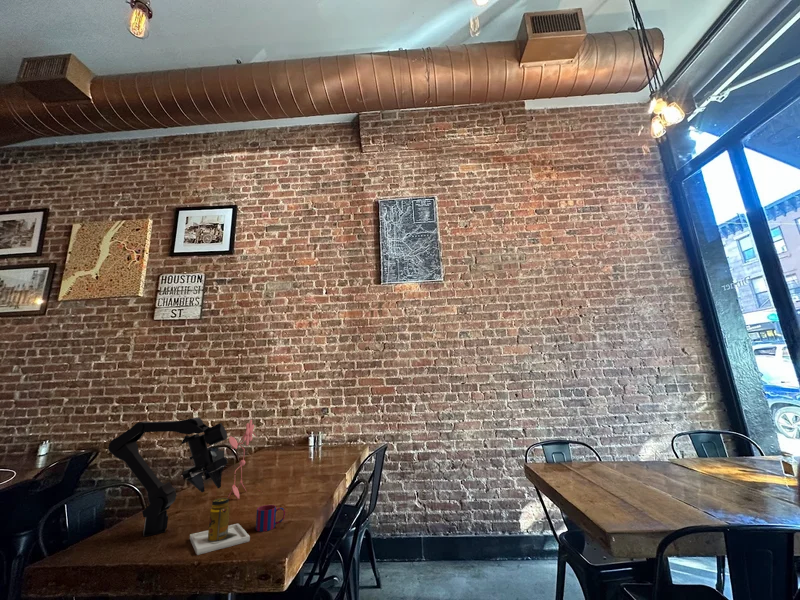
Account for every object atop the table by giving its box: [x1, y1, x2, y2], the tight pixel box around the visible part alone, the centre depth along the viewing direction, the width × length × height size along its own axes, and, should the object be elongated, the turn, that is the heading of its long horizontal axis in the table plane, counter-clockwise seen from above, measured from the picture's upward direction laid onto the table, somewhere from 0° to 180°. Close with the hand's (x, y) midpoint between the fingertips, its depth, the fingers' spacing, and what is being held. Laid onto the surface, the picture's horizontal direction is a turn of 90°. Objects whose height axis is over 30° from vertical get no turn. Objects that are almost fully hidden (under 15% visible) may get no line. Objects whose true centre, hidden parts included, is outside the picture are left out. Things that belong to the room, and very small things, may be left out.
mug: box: [255, 504, 286, 533], centre depth 132 cm, size 7×10×7 cm
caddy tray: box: [189, 523, 251, 556], centre depth 121 cm, size 16×16×2 cm
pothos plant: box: [227, 419, 263, 500], centre depth 176 cm, size 15×26×35 cm, turn 4°
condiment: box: [202, 497, 237, 544], centre depth 123 cm, size 7×8×12 cm
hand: (211, 489), depth 136 cm, fingers open, 9 cm apart
